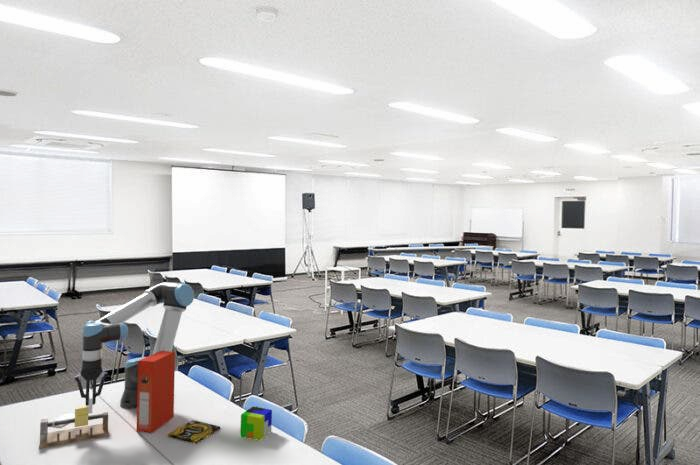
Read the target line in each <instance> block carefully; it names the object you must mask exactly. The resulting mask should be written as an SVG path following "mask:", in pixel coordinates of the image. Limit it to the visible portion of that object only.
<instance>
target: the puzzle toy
mask: <svg viewBox="0 0 700 465" xmlns="http://www.w3.org/2000/svg"><path fill="white" fill-rule="evenodd" d="M272 414H273V410H272V409H269V408H266V407H265V408H264V407H258V406H252V407H250V408H248V409H247V410H245V411H244V412H243V413H241V414H240V431H239V433H240V435H239V436H241V437H240V438H244V437H246V438H245V439H248V438H251V439H250V440H253V439H257V440H256V441H258V440H261V439H262V438H263V437H264V436H265V437H267V434H268V433H269V432H270V433H271V432H272V427H273V426H272V421H273V417H272V416H273V415H272ZM270 433H269V434H270ZM269 434H268V435H269ZM265 437H264V438H265ZM264 438H263V439H264ZM263 439H262V440H263ZM262 440H261V441H262Z"/></svg>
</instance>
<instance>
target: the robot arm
mask: <svg viewBox="0 0 700 465" xmlns="http://www.w3.org/2000/svg"><path fill="white" fill-rule="evenodd" d="M194 298H195V292H194V289H193V287H192V286H191V285H189V284H187V283H184V282H173V281H163V282H161V283H158V284H156V285H153V286H151V287H149V288H148V289H146V290H144V291H143V292H142V294H141V295H139V296H137V297H136V298H134V299H132V300H131V301H130V300H129V301H128V302H127V303H125V304H123V305H122V306H119V307H117V308H116V309H114V310H113V311H111V312H108V313H107V314H106V315H104V316H102V317H100V318H98V319H96V320H95V319H94V320H88V321H86V322H85V323H84V325H83V327H82V352H81V353H82V355H81V356H82V357H81V358H82V360H81V371H80V373H79V374H78V375H75V376H74V381H76V383H77V386H78V390H79V391H78V392H79V394H80V398H82V399H85V406H89V409H88V415H89V414H93V406H94V405H96V403H97V402H96V400H97V399H96V398H97V397H98V396H101V394H102V391H103V386H104V384H105V380H106V378H107V377H108V374H109V373H108V372H107V371H103V368H102V367H103V366H102V363H103V361H102V360H103V359H102V357H103V344H106V343H111V342H117V341H122V340H124V339H126V338H127V337H128V335H129V328H128V326H127V324H126V323H125V322H126V321H128V320H130V319H131V318H133V317H135V316H136V315H139V314H141V313H142V312H143V311H145V310H148V308H151V307H155V306H157V305H160V304H163V305H162V308H164V311H163V312H164V314H163V315H162V320H161V323H160V327H159V331H158V334H157V337H156V341H155V343H154V348H153V351H152V354H155V353H157V352H159V351H170V352H173V348H174V344H175V339H176V335H177V332H178V330H179V325H180V321H181V318H182V313H184V312H185V311H187V307H188V306H190V305H191V304H192V303H193V302H194ZM146 357H147V356H140V357H135V358H131V359H128V360H127V361H126V362H125V366H124V389H123V392H122V396H121V398H120V400H119V401H120V404H119V405H120V407H121V408H125V409H137V384H138V361H139V360H141V359H143V358H146ZM100 376H101V379H100V381H99V384H98V385H99V386H98V389H97V379H99V377H100ZM82 378H83V379H84V380H85V382H86V383H85V384H86V385H85V392H84V388H83V384H82V380H81V379H82ZM91 381H92V395H90V382H91Z"/></svg>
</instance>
